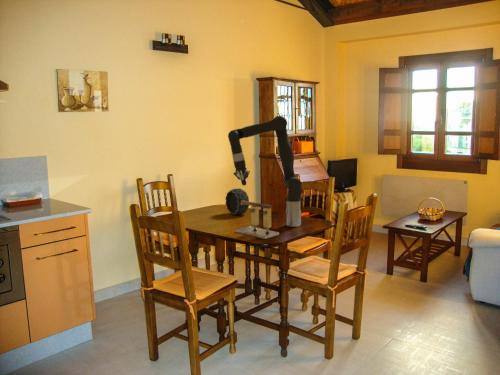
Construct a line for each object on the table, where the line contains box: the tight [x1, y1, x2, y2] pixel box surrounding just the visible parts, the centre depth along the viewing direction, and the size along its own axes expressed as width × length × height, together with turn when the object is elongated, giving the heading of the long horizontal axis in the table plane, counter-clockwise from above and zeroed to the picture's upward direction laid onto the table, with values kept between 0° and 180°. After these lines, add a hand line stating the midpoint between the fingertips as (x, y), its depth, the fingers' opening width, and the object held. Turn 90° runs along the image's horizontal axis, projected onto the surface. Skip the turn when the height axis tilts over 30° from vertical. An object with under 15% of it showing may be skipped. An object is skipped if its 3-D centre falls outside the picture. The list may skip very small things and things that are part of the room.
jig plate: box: [235, 225, 280, 240], centre depth 299 cm, size 13×26×2 cm, turn 46°
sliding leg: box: [249, 206, 260, 231], centre depth 298 cm, size 5×4×16 cm
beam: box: [241, 200, 272, 209], centre depth 297 cm, size 3×24×2 cm, turn 46°
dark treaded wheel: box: [225, 188, 250, 216], centre depth 355 cm, size 11×20×20 cm, turn 35°
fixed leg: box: [262, 208, 272, 233], centre depth 291 cm, size 5×4×16 cm
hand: (244, 185), depth 312 cm, fingers closed
